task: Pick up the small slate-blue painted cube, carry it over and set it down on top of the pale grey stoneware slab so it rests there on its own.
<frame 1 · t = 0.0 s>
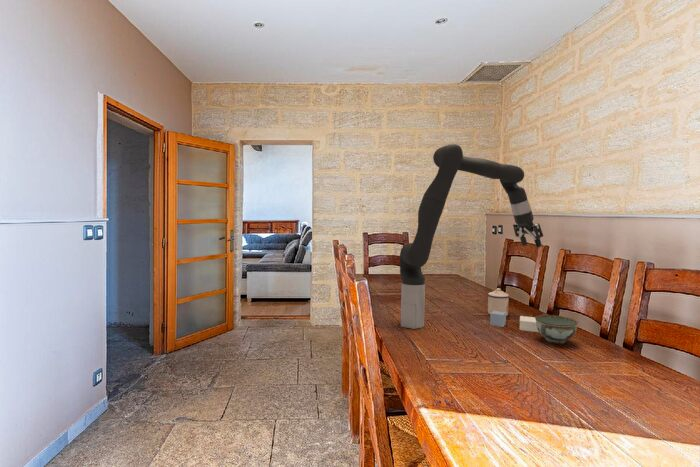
hand: (531, 246, 169), 31 cm above the table, tool tilted 20°, fingers open, 8 cm apart
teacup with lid: (496, 313, 176), on the table
slab: (530, 329, 153), on the table
cube: (497, 324, 158), on the table
bowl: (555, 342, 137), on the table
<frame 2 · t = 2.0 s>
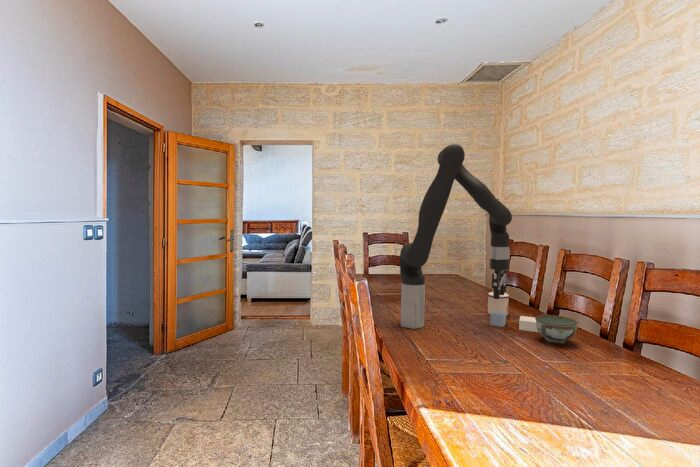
hand: (498, 296, 158), 11 cm above the table, tool pointing down, fingers open, 8 cm apart
nothing on the table moved.
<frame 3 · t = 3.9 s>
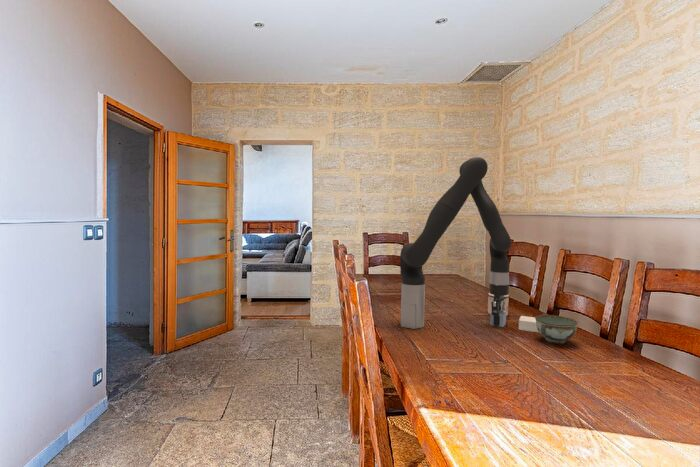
hand: (498, 323, 158), 0 cm above the table, tool pointing down, fingers closed on cube, 5 cm apart
cube: (498, 324, 158), on the table, touching gripper
everything else where it was.
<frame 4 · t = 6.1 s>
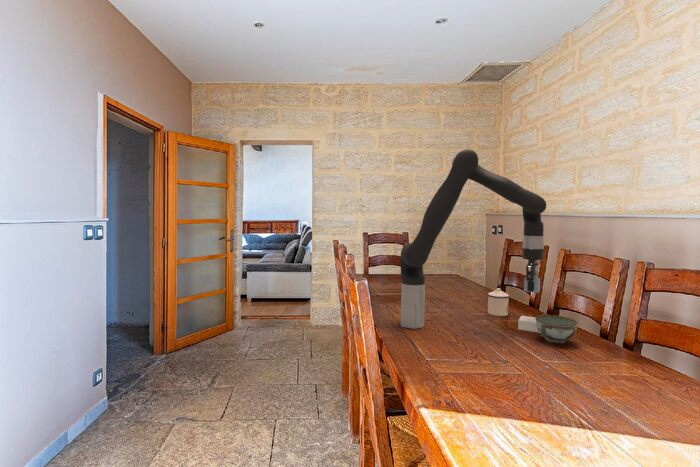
hand: (531, 289, 152), 15 cm above the table, tool pointing down, fingers closed on cube, 5 cm apart
cube: (531, 291, 152), point 15 cm above the table, touching gripper
everything else where it was.
when the fingers open (5 cm above the table, at t = 8.7 s): cube drops 1 cm, resting on slab.
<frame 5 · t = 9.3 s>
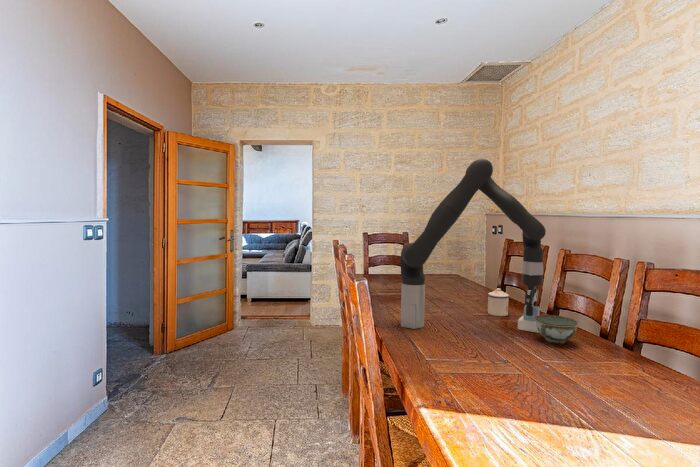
hand: (531, 313, 153), 6 cm above the table, tool pointing down, fingers open, 8 cm apart
slab: (530, 329, 153), on the table, touching cube
cube: (531, 319, 153), point 4 cm above the table, touching slab
everything else where it was.
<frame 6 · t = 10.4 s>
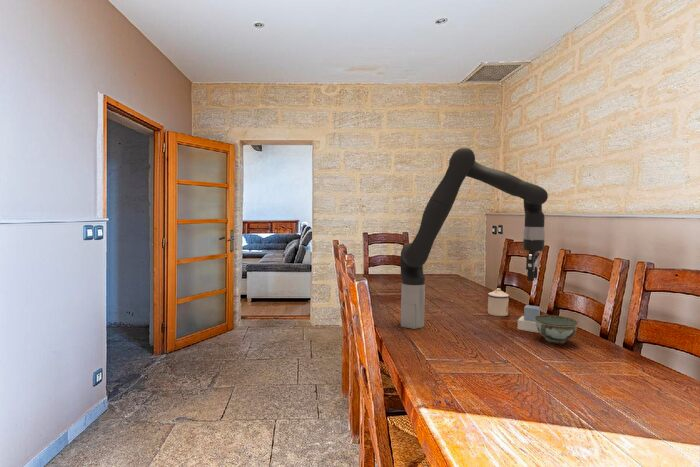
hand: (532, 279, 152), 20 cm above the table, tool pointing down, fingers open, 8 cm apart
slab: (530, 329, 153), on the table
cube: (531, 319, 153), point 4 cm above the table
everything else where it was.
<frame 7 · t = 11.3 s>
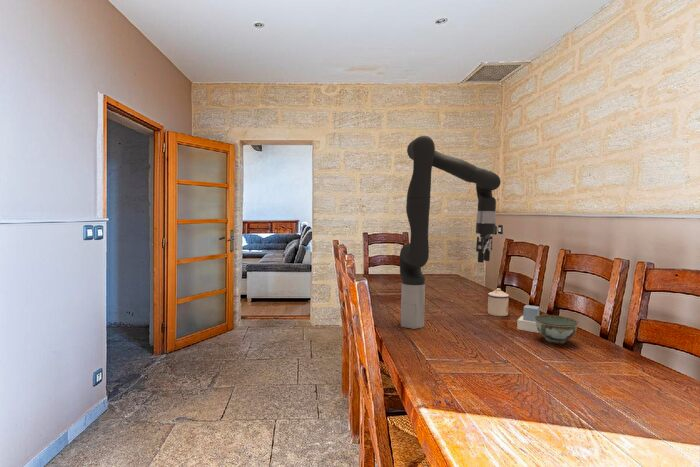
hand: (483, 261, 159), 26 cm above the table, tool pointing down, fingers open, 8 cm apart
slab: (530, 329, 153), on the table, touching cube
cube: (531, 319, 153), point 4 cm above the table, touching slab
everything else where it was.
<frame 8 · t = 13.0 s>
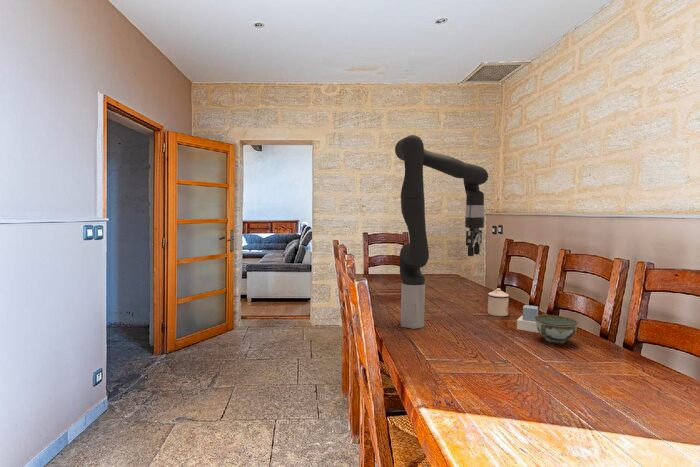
hand: (473, 255, 160), 28 cm above the table, tool pointing down, fingers open, 8 cm apart
nothing on the table moved.
at the end: cube 0.1 cm off-centre on the slab, point 4.0 cm above the slab's base; cube tilted 0°; the gripper is holding nothing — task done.
